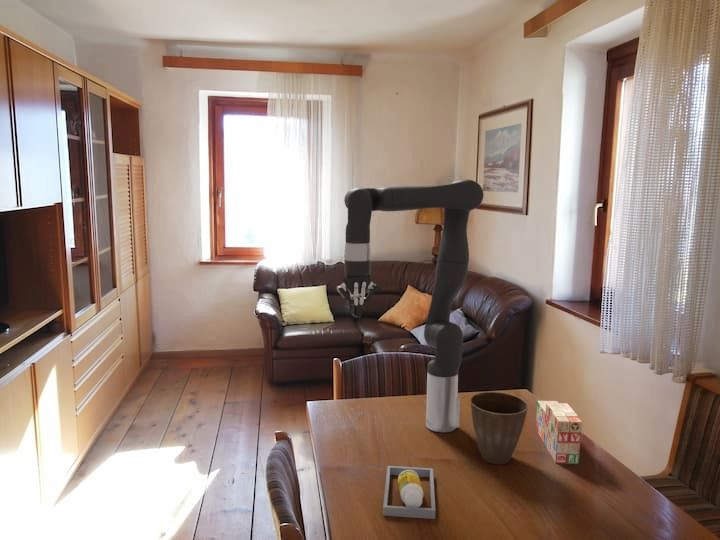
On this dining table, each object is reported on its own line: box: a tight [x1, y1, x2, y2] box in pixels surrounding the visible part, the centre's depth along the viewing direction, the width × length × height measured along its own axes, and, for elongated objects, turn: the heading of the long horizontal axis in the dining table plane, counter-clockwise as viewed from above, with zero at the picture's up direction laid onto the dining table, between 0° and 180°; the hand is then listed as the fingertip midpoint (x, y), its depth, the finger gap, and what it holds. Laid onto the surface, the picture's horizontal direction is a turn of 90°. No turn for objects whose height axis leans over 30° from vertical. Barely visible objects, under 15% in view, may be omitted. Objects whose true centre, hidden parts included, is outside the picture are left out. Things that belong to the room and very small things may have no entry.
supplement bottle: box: [397, 470, 424, 508], centre depth 130 cm, size 5×5×10 cm
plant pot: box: [470, 391, 529, 465], centre depth 150 cm, size 15×15×16 cm
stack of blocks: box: [535, 400, 583, 465], centre depth 158 cm, size 21×6×12 cm, turn 177°
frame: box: [382, 465, 436, 520], centre depth 133 cm, size 19×12×2 cm, turn 174°
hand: (357, 316), depth 162 cm, fingers closed
